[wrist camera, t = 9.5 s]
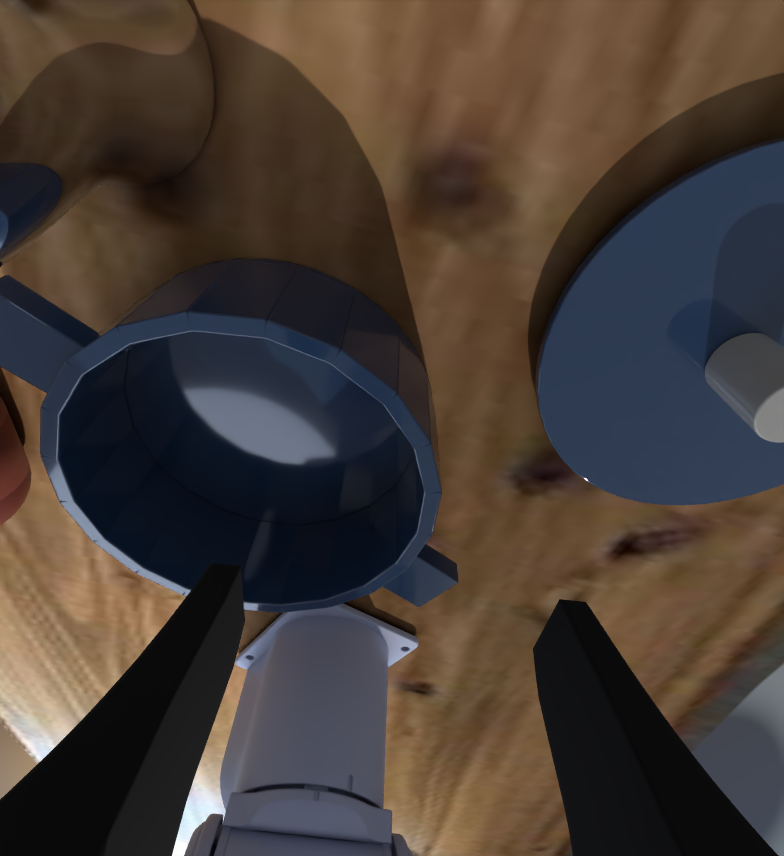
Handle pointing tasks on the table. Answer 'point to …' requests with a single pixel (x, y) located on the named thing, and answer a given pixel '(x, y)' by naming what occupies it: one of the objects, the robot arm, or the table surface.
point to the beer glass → (94, 103)
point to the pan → (241, 433)
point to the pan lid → (677, 341)
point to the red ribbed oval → (11, 468)
